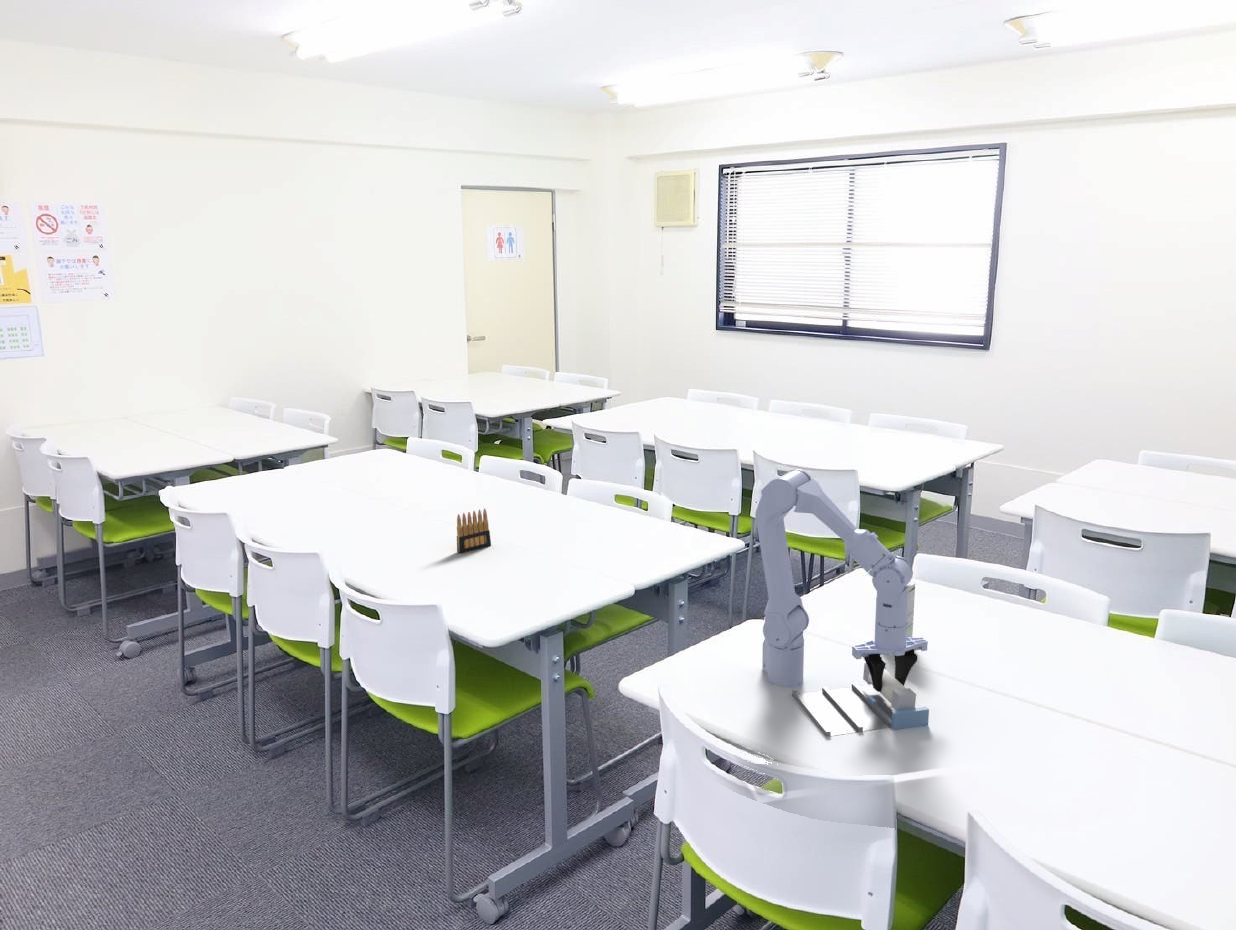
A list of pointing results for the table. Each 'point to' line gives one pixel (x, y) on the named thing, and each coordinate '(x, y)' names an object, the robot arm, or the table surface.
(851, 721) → the lane divider tray
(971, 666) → the table surface
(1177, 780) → the table surface
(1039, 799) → the table surface
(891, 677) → the white rounded long block
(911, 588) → the syrup box
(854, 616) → the table surface
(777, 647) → the robot arm
